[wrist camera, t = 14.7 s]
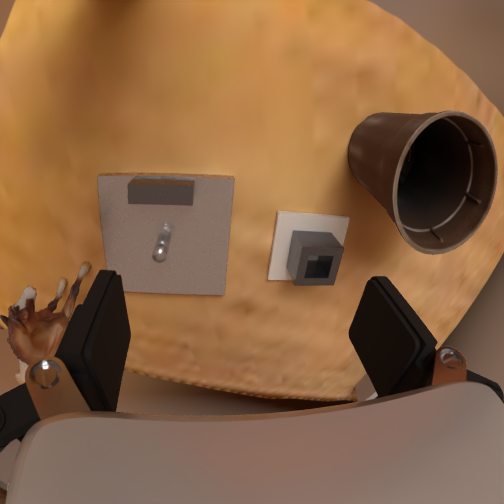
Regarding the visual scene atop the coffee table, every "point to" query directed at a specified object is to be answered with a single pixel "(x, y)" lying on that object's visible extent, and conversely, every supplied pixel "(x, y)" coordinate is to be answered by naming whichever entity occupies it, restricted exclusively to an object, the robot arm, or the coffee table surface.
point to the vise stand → (167, 230)
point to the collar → (314, 270)
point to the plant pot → (427, 174)
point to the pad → (300, 223)
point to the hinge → (365, 390)
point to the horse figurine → (39, 324)
